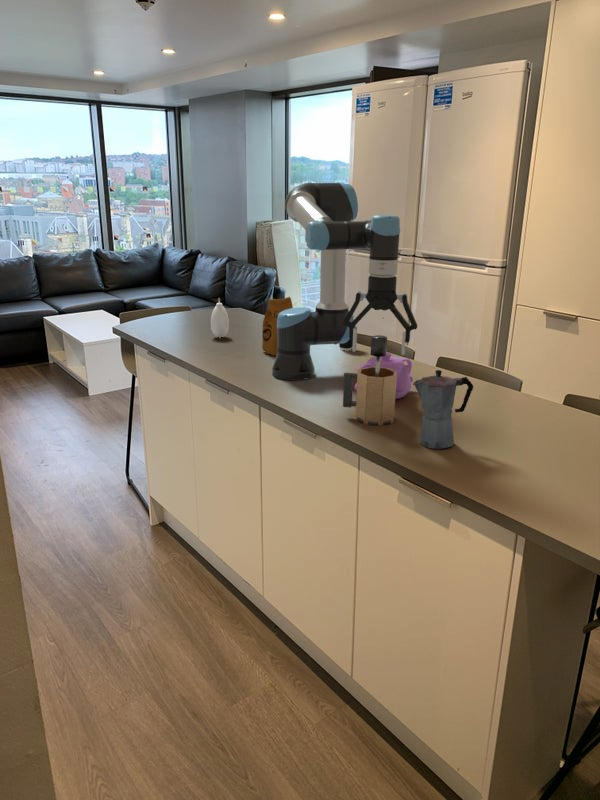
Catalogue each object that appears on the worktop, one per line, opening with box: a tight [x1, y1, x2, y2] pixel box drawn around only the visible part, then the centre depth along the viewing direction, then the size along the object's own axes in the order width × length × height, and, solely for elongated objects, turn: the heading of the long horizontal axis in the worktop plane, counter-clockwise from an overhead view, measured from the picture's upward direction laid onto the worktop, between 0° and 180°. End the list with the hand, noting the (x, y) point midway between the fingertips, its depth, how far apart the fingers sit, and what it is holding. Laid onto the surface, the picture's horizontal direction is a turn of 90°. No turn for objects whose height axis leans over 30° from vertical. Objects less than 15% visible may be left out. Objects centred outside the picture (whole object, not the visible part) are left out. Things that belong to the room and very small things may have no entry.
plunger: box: [370, 334, 388, 377], centre depth 171 cm, size 8×8×18 cm
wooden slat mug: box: [342, 367, 397, 427], centre depth 174 cm, size 15×11×14 cm
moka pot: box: [412, 369, 474, 450], centre depth 156 cm, size 10×15×20 cm, turn 95°
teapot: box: [354, 351, 414, 400], centre depth 192 cm, size 22×22×14 cm
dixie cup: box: [338, 324, 357, 352], centre depth 249 cm, size 8×8×11 cm
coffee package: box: [261, 296, 294, 356], centre depth 242 cm, size 10×12×22 cm
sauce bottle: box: [210, 298, 230, 338], centre depth 265 cm, size 8×8×18 cm
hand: (378, 352), depth 169 cm, fingers open, 13 cm apart
